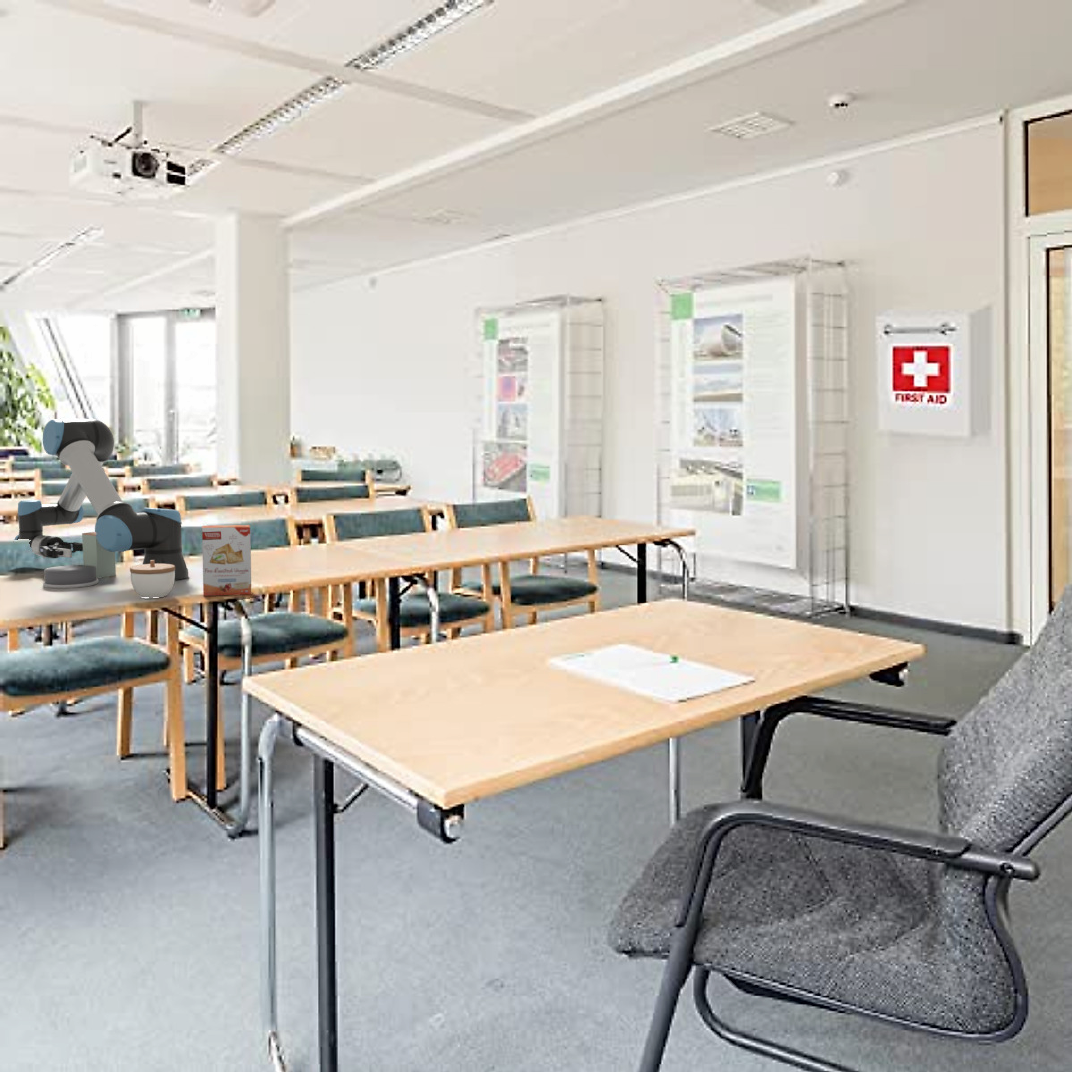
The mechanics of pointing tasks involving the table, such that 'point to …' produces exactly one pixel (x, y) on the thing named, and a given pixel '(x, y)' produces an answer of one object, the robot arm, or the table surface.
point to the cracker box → (226, 560)
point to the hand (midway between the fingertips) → (88, 551)
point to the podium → (70, 576)
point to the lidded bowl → (152, 579)
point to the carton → (98, 556)
